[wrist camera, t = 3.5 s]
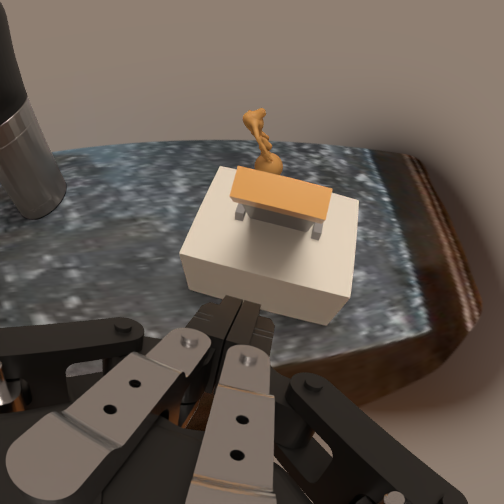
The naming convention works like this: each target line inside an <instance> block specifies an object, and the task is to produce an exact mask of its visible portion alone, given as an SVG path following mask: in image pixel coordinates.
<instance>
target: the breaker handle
mask: <svg viewBox="0 0 504 504" xmlns="http://www.w3.org/2000/svg"><path fill="white" fill-rule="evenodd" d="M331 194H332V189H331V188H327V187H323V186H320V185H316V184H312V183H308V182H304V181H301V180H297V179H293V178H289V177H284V176H280V175H276V174H272V173H268V172H263V171H259V170H254V169H250V168H245V167H241V166H238V167H237V171H236V174H235V178H234V181H233V185H232V189H231V192H230V198H231V199H232V201H233V202H236V203H240V204H242V205H243V207H244V209H245V211H246V212H247V214H248V216H249V218H251V219H255V220H259V221H264V222H268V223H272V224H275V225H279V226H283V227H287V228H291V229H295V230H299V231H303V232H307V231H309V229H310V228H311V226H312V225H313V224H314V223H315V222H316V223H320V224H322V223H323V222H324V221H325V220H326V216H327V212H328V207H329V203H330V198H331Z"/></svg>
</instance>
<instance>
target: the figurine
mask: <svg viewBox="0 0 504 504" xmlns="http://www.w3.org/2000/svg"><path fill="white" fill-rule="evenodd" d="M265 115H266V113H265V109H263V108H260V109H258V110H256V111H251V110H249V111H248V112H247V113H245V114H244V116H243V122H244V124H245V126H246V127H247V128H248V129H249V130H250V131H251V134H252V135H254V137H255V138H256V140H257V142H258V144H259V149H260V150H261V155H260V156H259V157H258V158H257V160H256V162H255V170H259V171H263V172H268V173H272V174H276V175H280V174H281V172H282V169H283V164H282V161H281V159H280V158H279V157H278V156H277V155H275V154H273V153H270V152H269V150H271V148H272V145H271V143H269V142H268V140H269V136H267V135H266V134H265V133H264V132H263V131H262V128H263V125H264V122H263V117H264V116H265Z"/></svg>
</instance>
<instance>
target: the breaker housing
mask: <svg viewBox="0 0 504 504" xmlns="http://www.w3.org/2000/svg"><path fill="white" fill-rule="evenodd" d="M236 171H237V170H236V169H232V168H227V167H222V166H220V167H219V169H218V171H217V174H216V176H215V178H214V180H213V182H212V184H211V186H210V188H209V190H208V192H207V194H206V196H205V198H204V200H203V203H202V205H201V207H200V209H199V211H198V213H197V215H196V218H195V220H194V222H193V224H192V226H191V228H190V231H189V233H188V235H187V237H186V239H185V242H184V244H183V246H182V248H181V251H180V253H179V254H180V258H181V262H182V265H183V269H184V273H185V276H186V280H187V284H188V287H189V290H192V291H196V292H199V293H202V294H206V295H209V296H213V297H217V298H220V299H223V298H224V297H225V295H228V296H232V297H235V298H239V299H243V302H244V300H246V301H250V302H254V303H257V304H261V308H260V309H261V310H264V311H268V312H272V313H276V314H280V315H284V316H288V317H292V318H296V319H300V320H304V321H308V322H312V323H317V324H321V325H325V326H327V325H328V323H329V322H330V321H331V320H332V319H333V318H334V316H335V315H336V314H337V313H338V312H339V311H340V309H341V308H342V307H343V306H344V305H345V303H346V302H347V301H348V300H349V299H350V295H351V287H352V278H353V268H354V258H355V247H356V235H357V221H358V205H359V200H355V199H352V198H348V197H345V196H341V195H338V194H334V193H332V194H331V198H330V203H329V207H328V212H327V216H326V220H325V221H324V222H323V223H322V224H320V223H316V222H315V223H314V224H313V225H312V226H311V228H310V229H309V231H307V232H303V231H299V230H295V229H291V228H287V227H283V226H279V225H275V224H272V223H268V222H264V221H259V220H255V219H251V218H249V216H248V214H247V212H246V211H245V209H244V207H243V205H242V204H240V203H236V202H233V201H232V199H231V198H230V192H231V189H232V185H233V181H234V178H235V174H236ZM242 304H243V303H242Z"/></svg>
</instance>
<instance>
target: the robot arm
mask: <svg viewBox="0 0 504 504" xmlns="http://www.w3.org/2000/svg"><path fill="white" fill-rule="evenodd" d="M0 183H1V185H2V186H3V188H4V189H5V191H6V192H7V194H8V195H9V197H10V198H11V200H12V201H13V203H14V204H15V206H16V207H17V208H18V210H19V211H20V213H21V214H22V215H23V216H24V217H25V218H27V219H37V218H40V217H43V216H45V215H46V214H48V213H49V212H51V211H52V210H53V209H54V208H55V207H56V206H57V205H58V204H59V203H60V202H61V200H62V198H63V197H64V194H65V192H66V182H65V180H64V178H63V176H62V174H61V172H60V170H59V168H58V166H57V163H56V161H55V159H54V157H53V155H52V153H51V150H50V148H49V146H48V144H47V142H46V139H45V137H44V135H43V132H42V130H41V128H40V126H39V123H38V121H37V118H36V116H35V114H34V111H33V109H32V106H31V104H30V101H29V98H28V96H27V93H26V90H25V87H24V84H23V81H22V78H21V74H20V71H19V67H18V64H17V61H16V58H15V54H14V50H13V45H12V41H11V36H10V30H9V25H8V21H7V16H6V13H5V10H4V8H3V6H2V4H1V3H0ZM242 303H243V304H242ZM260 308H261V304H257V303H254V302H250V301H246V300H244V302H243V299H239V298H235V297H232V296H228V295H225V297H224V298H223V300H222V302H221V303H220V305H218V304H215V303H211V302H210V303H207V304H205V305H202V306H201V307H200V309H199V310H198V312H197V313H196V314H195V315H194V317H193V318H192V319H191V320H190V322H189V323H188V324H187V326H186V327H185V328H178V329H174V330H172V331H171V332H170V333H169V334H168V335H167V336H166V337H164V338H163V339H158V338H151V337H145V336H144V328H143V326H142V325H141V324H140V323H138V322H136V321H134V320H132V319H128V318H122V317H117V318H108V319H98V320H89V321H79V322H69V323H58V324H47V325H35V326H21V327H7V328H0V504H313V503H314V504H468V502H467V500H466V498H465V496H464V495H463V494H462V493H461V492H460V491H459V490H457V489H456V488H455V487H454V486H452V485H451V484H450V483H448V482H447V481H446V480H445V479H443V478H442V477H441V476H440V475H438V474H437V473H436V472H434V471H433V470H432V469H431V468H430V467H428V466H427V465H426V464H425V463H423V462H422V461H421V460H420V459H418V458H417V457H416V456H415V455H413V454H412V453H411V452H410V451H409V450H407V449H406V448H405V447H404V446H403V445H401V444H400V443H399V442H398V441H396V440H395V439H394V438H393V437H392V436H391V435H389V434H388V433H387V432H386V431H385V430H384V429H382V428H381V427H380V426H379V425H378V424H377V423H375V422H374V421H373V420H372V419H370V417H368V416H367V415H366V414H365V413H364V412H363V411H362V410H360V409H359V408H358V407H357V406H356V405H355V404H354V403H352V402H351V401H350V400H349V399H348V398H347V397H346V396H345V395H343V394H342V393H341V392H340V391H339V390H338V389H337V388H336V387H334V386H333V385H332V384H331V383H330V382H329V381H328V380H326V379H325V378H323V377H321V376H319V375H316V374H312V373H298V374H296V375H294V376H293V377H292V378H291V379H289V378H287V377H284V376H282V375H281V374H279V373H277V372H276V371H275V370H274V369H273V368H272V367H271V365H270V358H269V356H270V350H271V345H272V339H273V333H274V328H275V325H274V324H273V322H272V320H271V319H269V318H265V317H261V316H258V315H259V312H260ZM99 359H102V363H103V372H98V373H92V374H86V375H80V376H74V377H66V374H65V372H66V369H67V368H68V367H69V366H70V365H71V364H74V363H80V362H86V361H93V360H99ZM214 386H215V389H214ZM213 389H214V393H213V394H214V395H215V397H214V401H213V404H212V408H211V412H210V415H209V419H208V423H207V426H206V430H205V431H197V430H190V429H185V427H186V426H187V424H188V422H189V421H190V419H191V417H192V416H193V414H194V412H195V411H196V409H197V407H198V405H199V400H200V398H201V397H202V395H203V393H204V392H207V393H212V391H213ZM315 432H316V433H317V434H318V435H319V436H320V437H321V438H322V439H323V440H324V441H325V442H326V443H327V444H328V445H329V447H330V448H331V450H332V454H333V458H332V457H331V456H330V455H329V454H328V452H327V451H325V449H324V448H323V447H322V446H321V445H320V444H319V443H318V442H317V441H316V440H315V439H314V438H313V437H312V436H313V435H314V433H315ZM273 456H275V458H277V460H278V461H279V462H280V464H281V465H282V466H283V468H284V469H285V470H286V471H287V472H288V473H287V472H286V471H285V470H284V469H283V468H281V467H280V466H279V465H278V464H276V463H275V462H273ZM301 489H302V490H303V491H302V490H301ZM304 493H305V494H306V495H307V496H308V497H309V498H310V500H311V501H312V502H313V503H312V502H311V501H310V500H309V498H308V497H307V496H306V495H305V494H304Z"/></svg>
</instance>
